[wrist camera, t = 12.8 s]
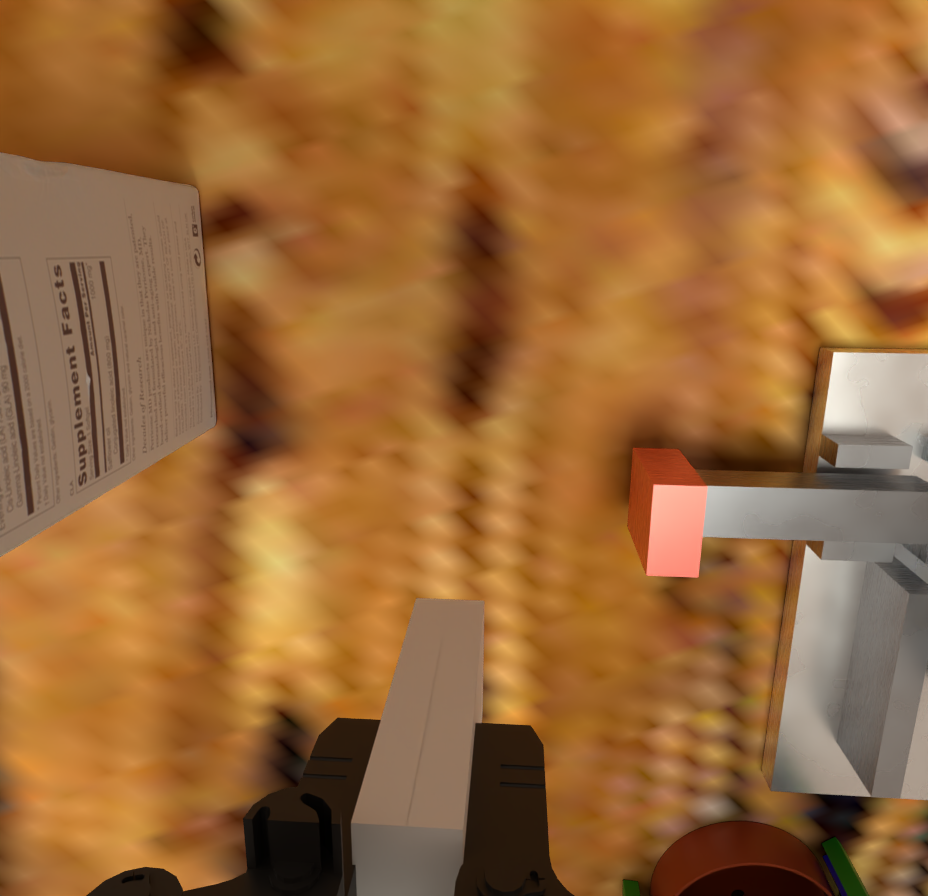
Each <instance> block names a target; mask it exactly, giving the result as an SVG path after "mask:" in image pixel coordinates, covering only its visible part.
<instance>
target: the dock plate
mask: <svg viewBox="0 0 928 896" xmlns="http://www.w3.org/2000/svg"><path fill="white" fill-rule="evenodd" d="M803 473H836V474H872V475H908V476H917V477H919V478H921V479H923V480H924V481H926V482H928V349H878V348H820V350H819V357H818V364H817V372H816V379H815V386H814V393H813V401H812V408H811V415H810V422H809V430H808V437H807V444H806V451H805V459H804V466H803ZM761 771H762V773H763V775H764V777H765V780H766V782H767V784H768V786H769V788H770V790H771V791H781V792H798V793H815V794H832V795H849V796H867V797H884V798H901V799H918V800H928V545H927V544H898V543H869V542H840V541H811V540H793V545H792V553H791V560H790V567H789V574H788V582H787V589H786V596H785V603H784V611H783V618H782V625H781V632H780V640H779V647H778V654H777V661H776V669H775V676H774V683H773V690H772V697H771V705H770V712H769V719H768V726H767V734H766V741H765V748H764V755H763V763H762V770H761Z"/></svg>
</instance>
